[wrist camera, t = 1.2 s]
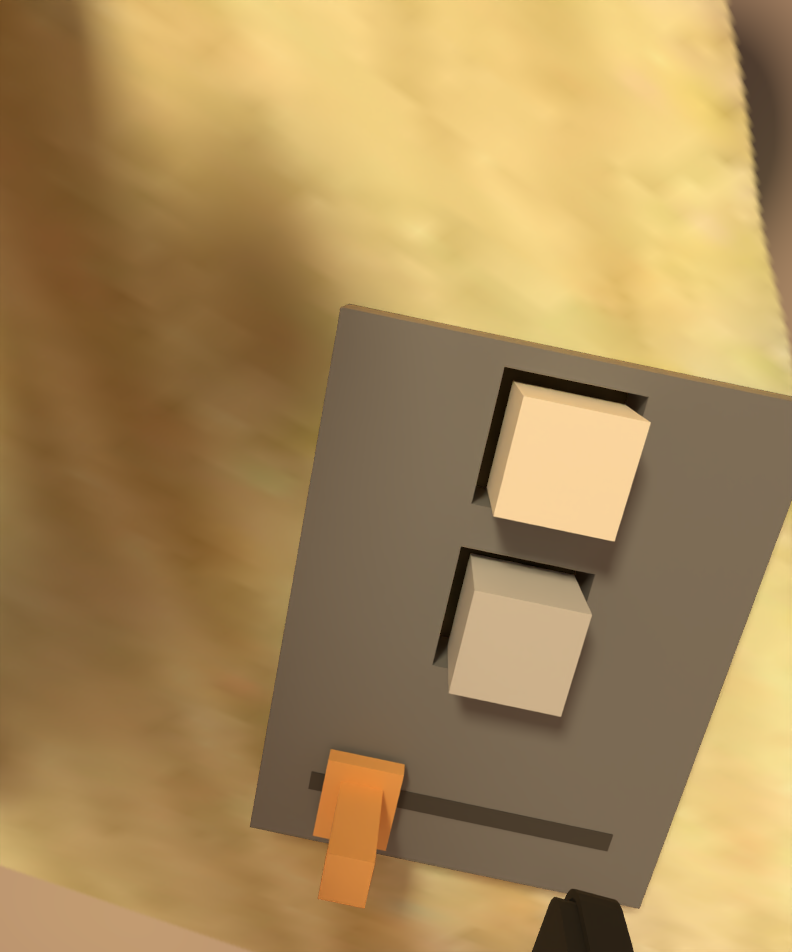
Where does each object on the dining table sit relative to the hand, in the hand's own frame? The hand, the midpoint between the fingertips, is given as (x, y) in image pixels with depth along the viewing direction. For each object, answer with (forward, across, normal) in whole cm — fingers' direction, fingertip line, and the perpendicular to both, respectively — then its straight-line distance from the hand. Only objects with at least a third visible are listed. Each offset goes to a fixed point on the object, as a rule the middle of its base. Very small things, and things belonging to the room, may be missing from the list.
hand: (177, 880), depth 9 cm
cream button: (+24, -7, -3) cm, 25 cm away
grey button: (+24, -8, +5) cm, 26 cm away
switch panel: (+26, -8, +6) cm, 28 cm away
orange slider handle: (+23, -3, +16) cm, 28 cm away
